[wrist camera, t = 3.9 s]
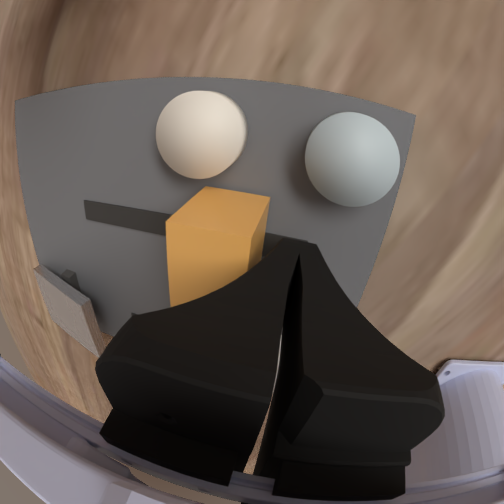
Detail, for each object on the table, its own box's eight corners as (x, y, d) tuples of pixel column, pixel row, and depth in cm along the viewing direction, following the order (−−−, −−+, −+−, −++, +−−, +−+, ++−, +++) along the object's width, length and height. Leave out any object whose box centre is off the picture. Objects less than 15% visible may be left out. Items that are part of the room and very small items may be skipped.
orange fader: (256, 287, 12) (238, 342, 9) (202, 275, 12) (172, 325, 10) (270, 197, 10) (251, 237, 7) (205, 186, 10) (165, 221, 8)
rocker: (107, 352, 16) (100, 359, 15) (58, 314, 17) (52, 319, 17) (90, 299, 13) (80, 306, 13) (41, 264, 15) (33, 269, 14)
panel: (317, 372, 17) (314, 405, 15) (66, 299, 19) (47, 319, 17) (403, 112, 9) (426, 117, 7) (33, 96, 11) (1, 103, 9)
